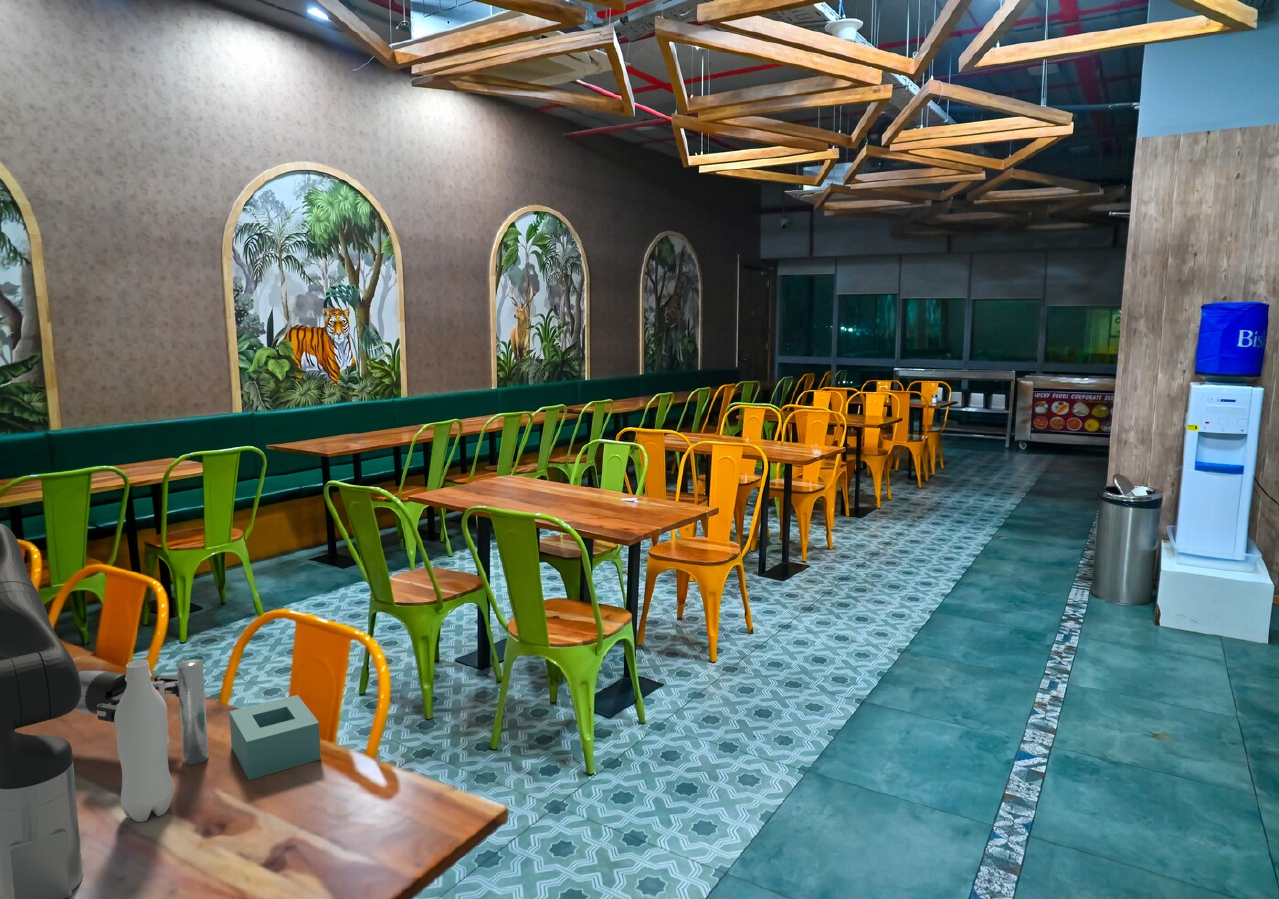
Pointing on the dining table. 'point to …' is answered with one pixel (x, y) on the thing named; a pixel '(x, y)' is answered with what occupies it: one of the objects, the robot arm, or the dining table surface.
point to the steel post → (192, 711)
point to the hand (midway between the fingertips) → (176, 702)
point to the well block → (274, 736)
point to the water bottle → (143, 745)
